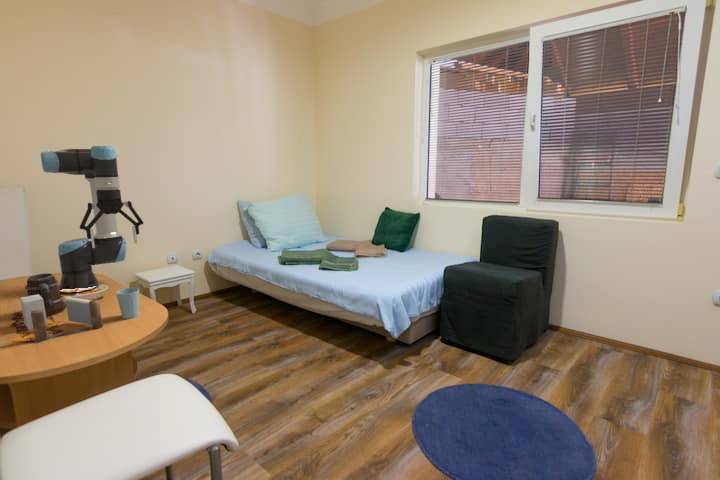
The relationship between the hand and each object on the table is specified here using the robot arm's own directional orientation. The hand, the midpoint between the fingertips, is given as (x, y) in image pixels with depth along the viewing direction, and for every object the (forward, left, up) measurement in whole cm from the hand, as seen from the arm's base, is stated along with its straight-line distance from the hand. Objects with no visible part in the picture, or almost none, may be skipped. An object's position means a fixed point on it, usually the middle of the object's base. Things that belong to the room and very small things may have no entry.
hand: (115, 245), depth 147 cm
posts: (+9, -17, -28) cm, 34 cm away
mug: (-19, -24, -28) cm, 42 cm away
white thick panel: (+2, -14, -27) cm, 30 cm away
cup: (+4, +2, -28) cm, 28 cm away
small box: (-7, -27, -28) cm, 40 cm away
